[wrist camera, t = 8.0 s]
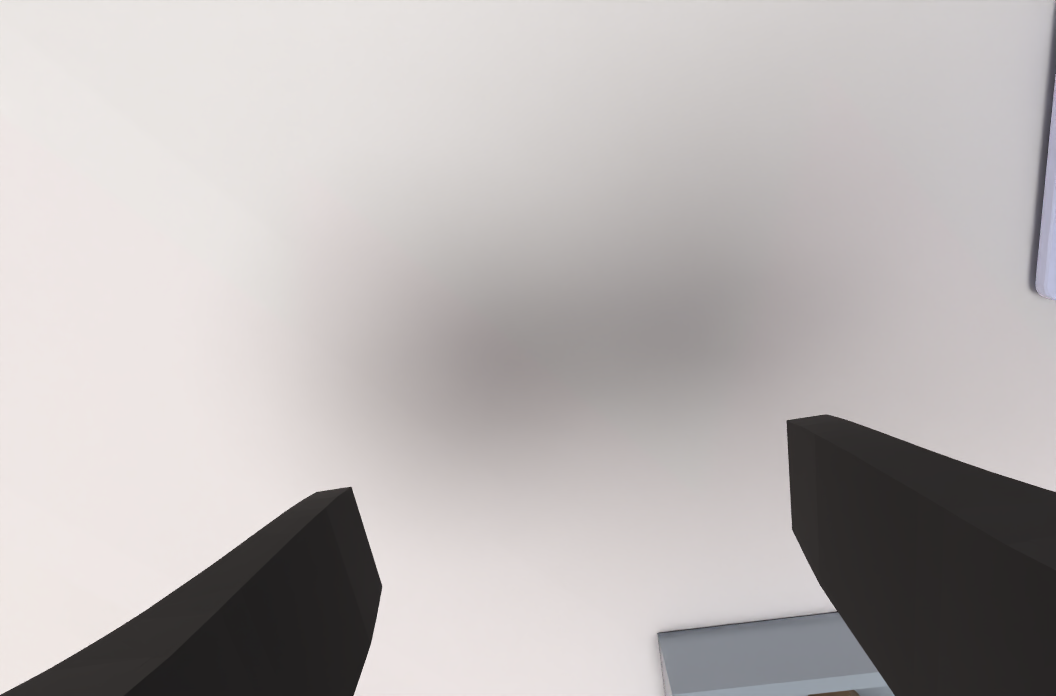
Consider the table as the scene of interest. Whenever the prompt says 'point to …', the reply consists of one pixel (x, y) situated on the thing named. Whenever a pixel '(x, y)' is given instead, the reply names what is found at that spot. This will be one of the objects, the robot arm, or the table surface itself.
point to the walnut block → (838, 693)
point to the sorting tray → (769, 659)
